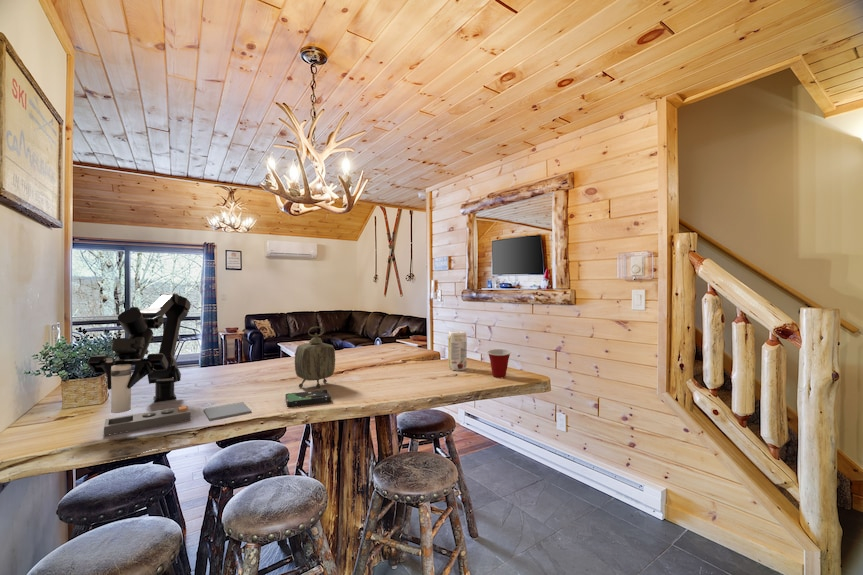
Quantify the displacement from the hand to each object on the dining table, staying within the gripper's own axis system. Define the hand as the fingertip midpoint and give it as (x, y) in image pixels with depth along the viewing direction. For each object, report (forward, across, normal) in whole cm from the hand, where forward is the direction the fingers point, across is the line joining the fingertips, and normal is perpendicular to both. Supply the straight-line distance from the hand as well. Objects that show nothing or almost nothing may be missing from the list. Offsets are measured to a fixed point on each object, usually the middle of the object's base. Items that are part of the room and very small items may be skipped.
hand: (118, 388), depth 106 cm
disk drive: (-2, +51, +20) cm, 54 cm away
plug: (+5, 0, +5) cm, 7 cm away
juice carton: (-28, +121, +46) cm, 133 cm away
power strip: (+6, +6, +11) cm, 14 cm away
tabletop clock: (-16, +53, +34) cm, 65 cm away
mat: (+1, +26, +16) cm, 30 cm away
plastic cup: (-14, +135, +31) cm, 139 cm away
